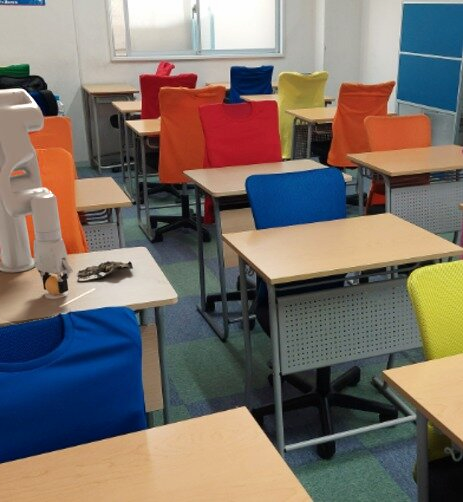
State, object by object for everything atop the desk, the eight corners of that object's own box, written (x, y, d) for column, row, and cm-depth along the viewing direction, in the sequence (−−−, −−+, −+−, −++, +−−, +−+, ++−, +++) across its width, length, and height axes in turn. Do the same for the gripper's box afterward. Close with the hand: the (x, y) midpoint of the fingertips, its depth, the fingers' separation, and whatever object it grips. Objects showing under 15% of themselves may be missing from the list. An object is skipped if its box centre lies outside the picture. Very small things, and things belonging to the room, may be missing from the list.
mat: (30, 301, 187) (30, 299, 186) (68, 282, 199) (68, 281, 199) (79, 314, 177) (78, 312, 177) (115, 294, 190) (115, 292, 189)
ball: (42, 295, 189) (39, 277, 187) (56, 288, 194) (54, 270, 192) (56, 299, 186) (53, 281, 184) (70, 292, 191) (68, 274, 189)
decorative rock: (77, 276, 194) (69, 258, 207) (80, 293, 197) (72, 274, 210) (135, 262, 200) (124, 246, 213) (138, 279, 203) (127, 261, 216)
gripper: (18, 234, 185) (27, 289, 191) (59, 242, 176) (67, 300, 182) (37, 227, 191) (45, 281, 197) (78, 234, 182) (85, 290, 188)
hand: (56, 289), depth 190 cm, fingers closed on ball, 5 cm apart
